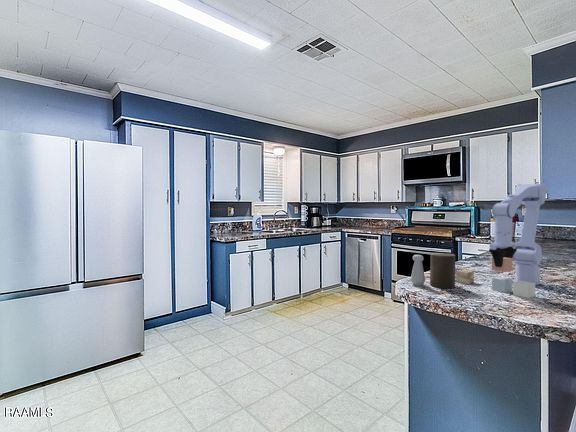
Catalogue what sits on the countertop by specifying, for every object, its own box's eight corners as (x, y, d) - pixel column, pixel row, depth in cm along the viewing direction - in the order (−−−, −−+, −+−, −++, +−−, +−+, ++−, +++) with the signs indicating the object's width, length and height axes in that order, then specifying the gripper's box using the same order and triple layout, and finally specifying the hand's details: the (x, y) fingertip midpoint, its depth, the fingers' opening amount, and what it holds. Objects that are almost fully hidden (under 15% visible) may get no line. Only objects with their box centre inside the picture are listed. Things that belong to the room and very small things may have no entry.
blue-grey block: (499, 288, 132) (499, 276, 132) (512, 291, 127) (512, 279, 127) (492, 290, 129) (492, 277, 129) (505, 293, 125) (505, 280, 125)
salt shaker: (426, 286, 134) (426, 256, 134) (412, 286, 135) (412, 256, 135) (423, 283, 140) (423, 254, 140) (409, 282, 141) (409, 253, 141)
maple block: (463, 280, 146) (463, 269, 146) (473, 282, 142) (473, 271, 141) (456, 281, 144) (456, 270, 144) (466, 284, 139) (466, 272, 139)
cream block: (520, 293, 125) (520, 280, 124) (535, 296, 120) (535, 283, 120) (513, 294, 122) (513, 282, 122) (527, 298, 118) (528, 285, 118)
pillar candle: (449, 290, 129) (450, 253, 129) (425, 285, 136) (426, 250, 136) (458, 286, 135) (459, 251, 135) (435, 282, 143) (436, 249, 142)
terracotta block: (499, 268, 132) (499, 256, 131) (512, 270, 127) (512, 258, 127) (491, 269, 129) (492, 257, 129) (504, 271, 125) (505, 259, 125)
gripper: (503, 231, 134) (502, 263, 135) (482, 232, 128) (481, 266, 128) (521, 232, 128) (521, 265, 128) (500, 234, 122) (499, 269, 122)
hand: (502, 266), depth 128 cm, fingers closed on terracotta block, 5 cm apart
